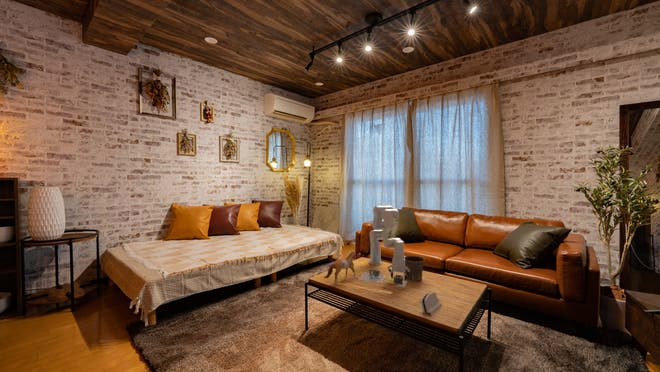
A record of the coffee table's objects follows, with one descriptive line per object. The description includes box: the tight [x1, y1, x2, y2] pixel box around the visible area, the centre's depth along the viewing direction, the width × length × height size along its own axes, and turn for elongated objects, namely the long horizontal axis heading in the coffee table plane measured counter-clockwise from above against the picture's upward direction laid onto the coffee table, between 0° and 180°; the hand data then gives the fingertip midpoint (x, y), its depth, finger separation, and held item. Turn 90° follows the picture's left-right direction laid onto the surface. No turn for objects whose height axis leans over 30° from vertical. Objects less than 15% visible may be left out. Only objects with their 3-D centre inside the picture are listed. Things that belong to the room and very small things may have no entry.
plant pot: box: [404, 255, 425, 282], centre depth 217 cm, size 16×16×16 cm
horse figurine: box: [323, 251, 357, 286], centre depth 211 cm, size 31×8×21 cm, turn 126°
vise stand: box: [357, 269, 386, 284], centre depth 216 cm, size 18×18×6 cm
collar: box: [393, 274, 404, 285], centre depth 206 cm, size 6×6×5 cm
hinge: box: [420, 292, 443, 316], centre depth 168 cm, size 17×5×10 cm, turn 136°
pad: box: [394, 280, 408, 289], centre depth 207 cm, size 11×11×1 cm
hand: (398, 279), depth 206 cm, fingers open, 9 cm apart
